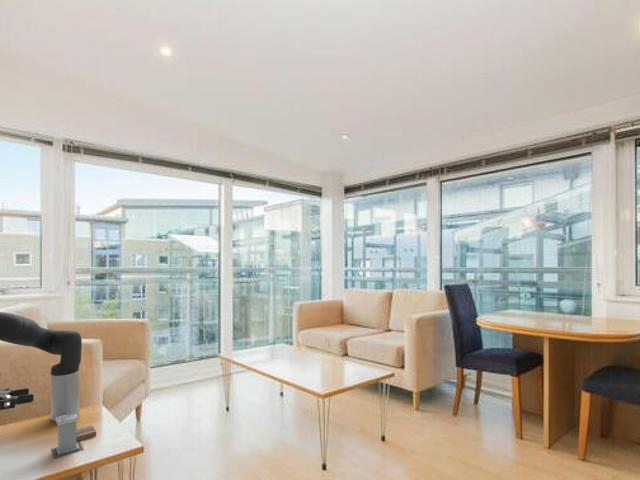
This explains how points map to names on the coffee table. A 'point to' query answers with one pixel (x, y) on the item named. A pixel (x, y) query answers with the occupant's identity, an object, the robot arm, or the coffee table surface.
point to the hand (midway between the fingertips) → (30, 394)
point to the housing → (66, 433)
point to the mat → (66, 453)
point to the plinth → (85, 433)
